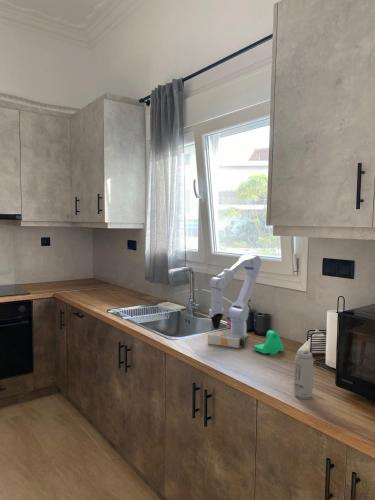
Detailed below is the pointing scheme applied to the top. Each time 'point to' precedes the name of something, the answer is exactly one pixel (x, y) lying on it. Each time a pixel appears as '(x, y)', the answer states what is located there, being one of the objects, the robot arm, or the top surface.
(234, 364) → the top surface
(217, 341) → the door
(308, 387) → the energy drink can
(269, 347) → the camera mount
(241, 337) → the block
